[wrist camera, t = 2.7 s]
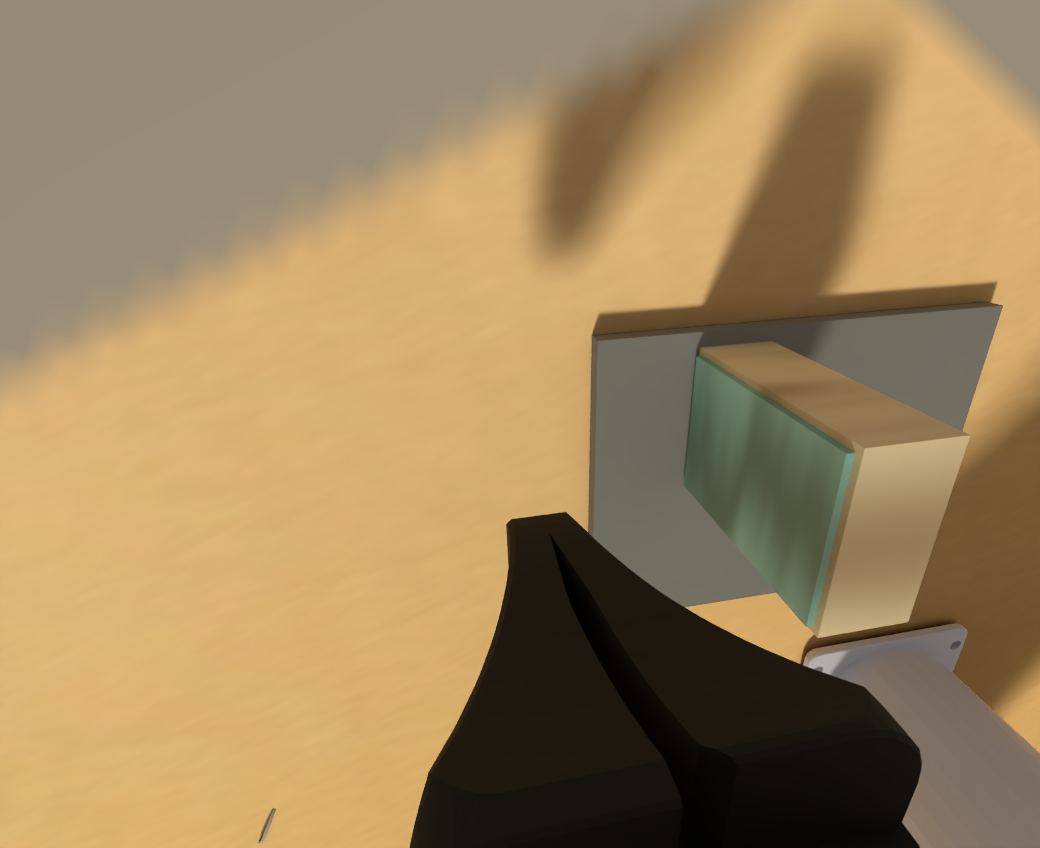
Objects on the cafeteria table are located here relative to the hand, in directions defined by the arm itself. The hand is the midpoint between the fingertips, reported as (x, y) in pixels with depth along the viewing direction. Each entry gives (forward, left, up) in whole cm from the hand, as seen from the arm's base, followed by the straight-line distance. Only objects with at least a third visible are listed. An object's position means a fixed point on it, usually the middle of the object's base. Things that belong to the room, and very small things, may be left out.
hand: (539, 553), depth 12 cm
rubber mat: (-3, -10, -6) cm, 12 cm away
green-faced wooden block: (0, -8, -6) cm, 10 cm away
